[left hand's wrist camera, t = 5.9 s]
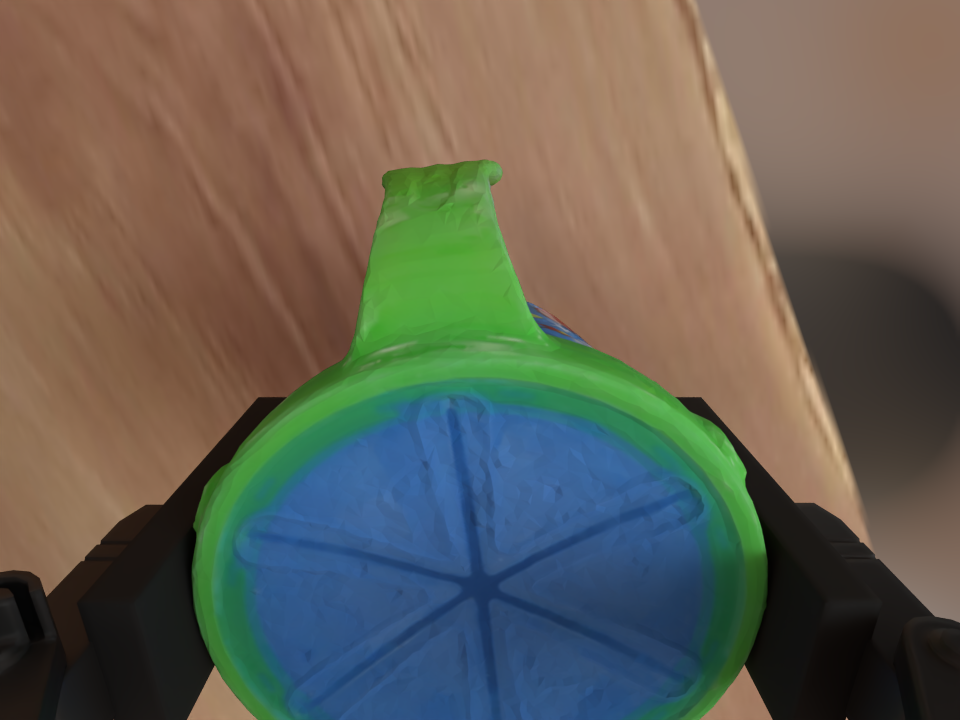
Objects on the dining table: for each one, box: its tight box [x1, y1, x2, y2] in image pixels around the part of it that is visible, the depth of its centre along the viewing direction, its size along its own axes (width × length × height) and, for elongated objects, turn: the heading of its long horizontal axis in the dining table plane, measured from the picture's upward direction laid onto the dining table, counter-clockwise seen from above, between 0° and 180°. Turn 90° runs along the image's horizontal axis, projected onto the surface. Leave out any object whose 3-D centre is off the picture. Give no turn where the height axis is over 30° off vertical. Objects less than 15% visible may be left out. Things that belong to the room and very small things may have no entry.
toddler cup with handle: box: [192, 160, 768, 720], centre depth 13 cm, size 14×9×9 cm
